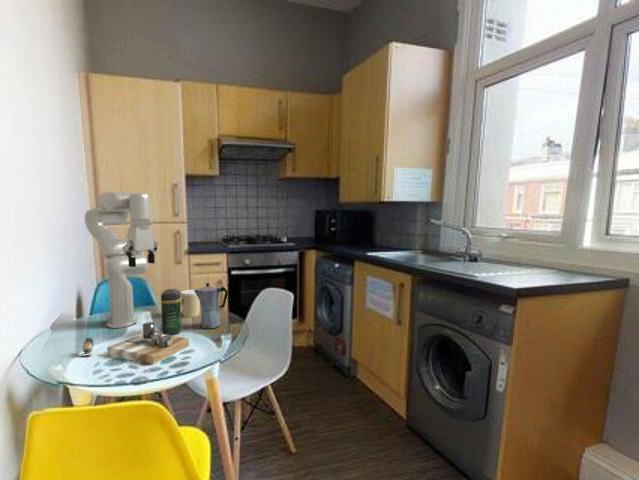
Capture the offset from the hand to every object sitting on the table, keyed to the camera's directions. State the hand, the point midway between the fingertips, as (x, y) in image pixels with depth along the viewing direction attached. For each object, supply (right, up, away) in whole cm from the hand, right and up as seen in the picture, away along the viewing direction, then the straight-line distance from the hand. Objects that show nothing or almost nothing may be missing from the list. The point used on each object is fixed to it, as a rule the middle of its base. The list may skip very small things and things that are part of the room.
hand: (142, 264), depth 151 cm
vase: (-12, -32, -16) cm, 38 cm away
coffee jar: (+9, -30, +8) cm, 32 cm away
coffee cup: (+9, -28, +32) cm, 44 cm away
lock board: (+9, -32, -12) cm, 35 cm away
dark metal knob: (+12, -28, -14) cm, 34 cm away
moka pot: (+24, -29, +16) cm, 41 cm away
